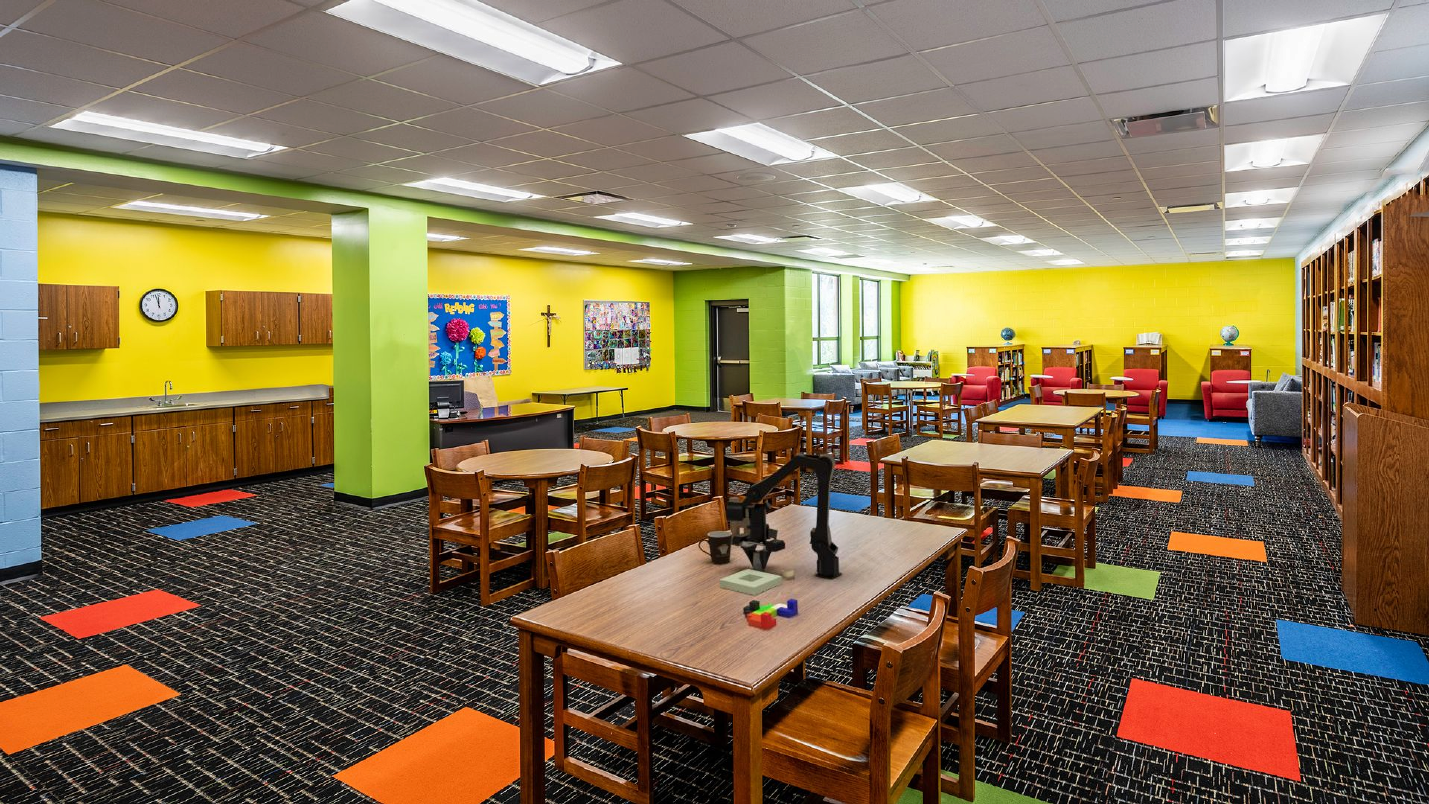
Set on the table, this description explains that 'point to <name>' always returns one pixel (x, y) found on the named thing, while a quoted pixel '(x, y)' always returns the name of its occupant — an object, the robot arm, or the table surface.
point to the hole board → (750, 581)
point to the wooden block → (738, 524)
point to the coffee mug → (719, 546)
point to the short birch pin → (788, 574)
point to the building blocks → (768, 613)
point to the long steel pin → (757, 562)
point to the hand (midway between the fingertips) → (759, 567)
